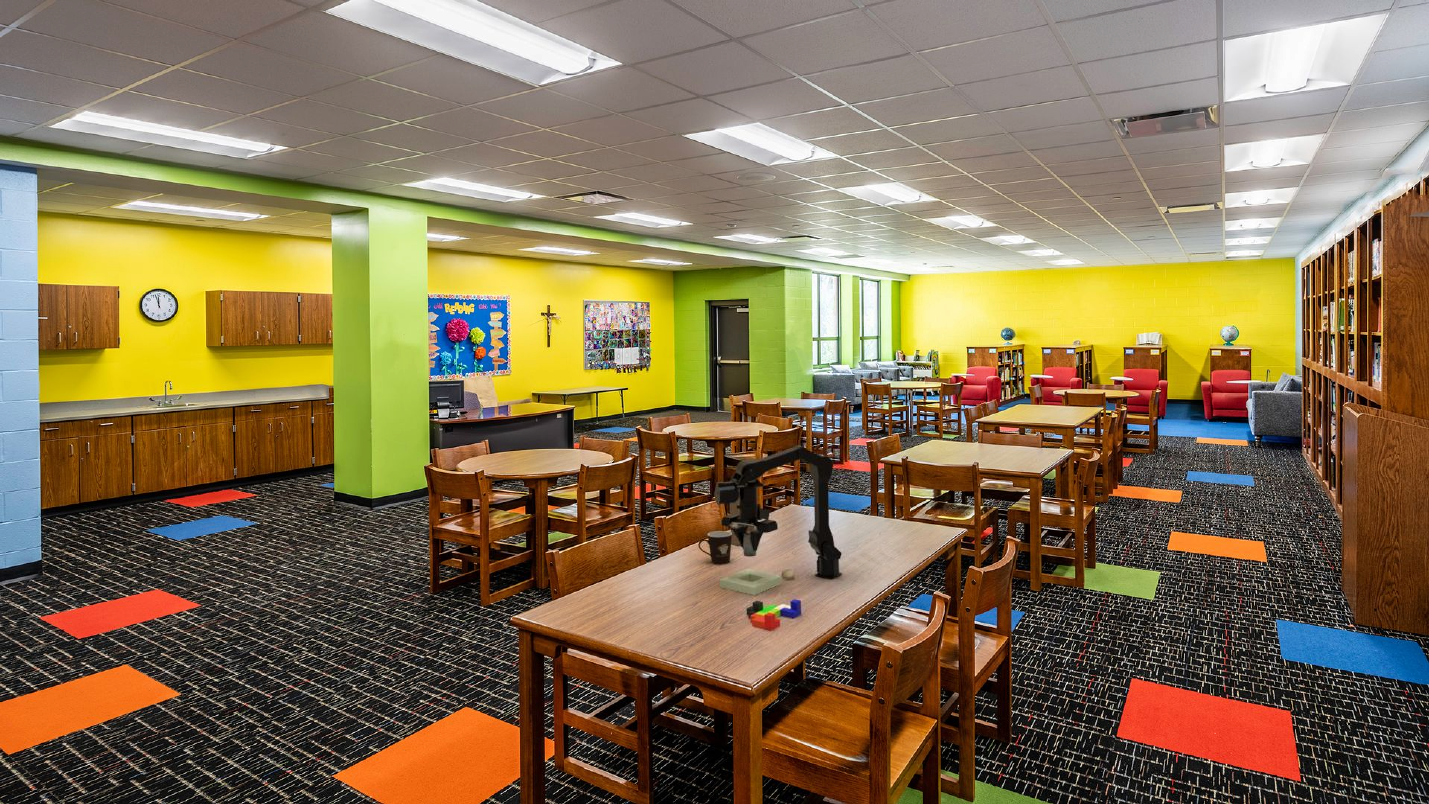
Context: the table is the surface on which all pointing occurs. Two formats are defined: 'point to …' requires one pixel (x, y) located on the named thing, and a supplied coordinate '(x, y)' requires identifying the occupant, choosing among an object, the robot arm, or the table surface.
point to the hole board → (750, 581)
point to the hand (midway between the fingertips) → (749, 550)
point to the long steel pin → (748, 545)
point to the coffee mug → (719, 546)
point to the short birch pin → (788, 574)
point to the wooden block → (732, 511)
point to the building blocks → (772, 613)
